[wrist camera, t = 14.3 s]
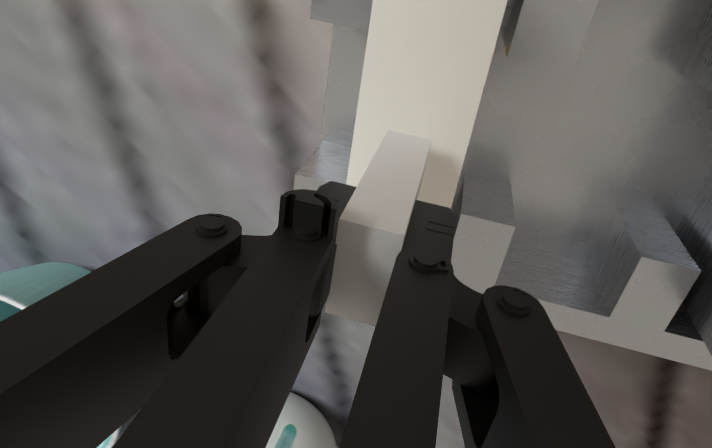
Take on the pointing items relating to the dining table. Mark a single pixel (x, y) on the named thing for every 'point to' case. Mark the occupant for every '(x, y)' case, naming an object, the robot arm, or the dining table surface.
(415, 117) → the block
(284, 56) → the dining table surface
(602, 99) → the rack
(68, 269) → the bowl
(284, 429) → the vase
